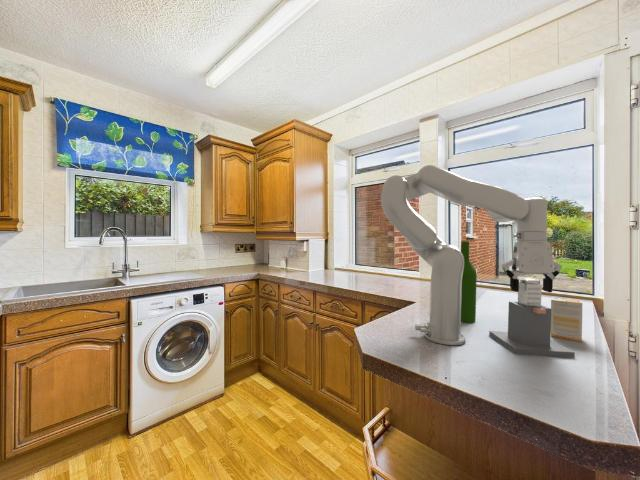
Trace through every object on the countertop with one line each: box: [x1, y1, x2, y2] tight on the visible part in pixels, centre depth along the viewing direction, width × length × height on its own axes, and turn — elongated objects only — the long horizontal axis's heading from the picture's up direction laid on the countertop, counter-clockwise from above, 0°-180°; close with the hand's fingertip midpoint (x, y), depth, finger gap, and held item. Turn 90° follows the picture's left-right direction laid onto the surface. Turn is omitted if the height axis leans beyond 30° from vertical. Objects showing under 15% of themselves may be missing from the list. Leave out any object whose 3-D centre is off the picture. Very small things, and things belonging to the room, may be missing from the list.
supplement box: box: [550, 297, 583, 342], centre depth 99 cm, size 8×5×13 cm, turn 48°
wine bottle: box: [460, 240, 478, 324], centre depth 118 cm, size 9×9×32 cm
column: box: [517, 278, 543, 307], centre depth 91 cm, size 5×5×19 cm
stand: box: [488, 300, 576, 358], centre depth 91 cm, size 16×16×13 cm
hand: (530, 291), depth 91 cm, fingers open, 9 cm apart
